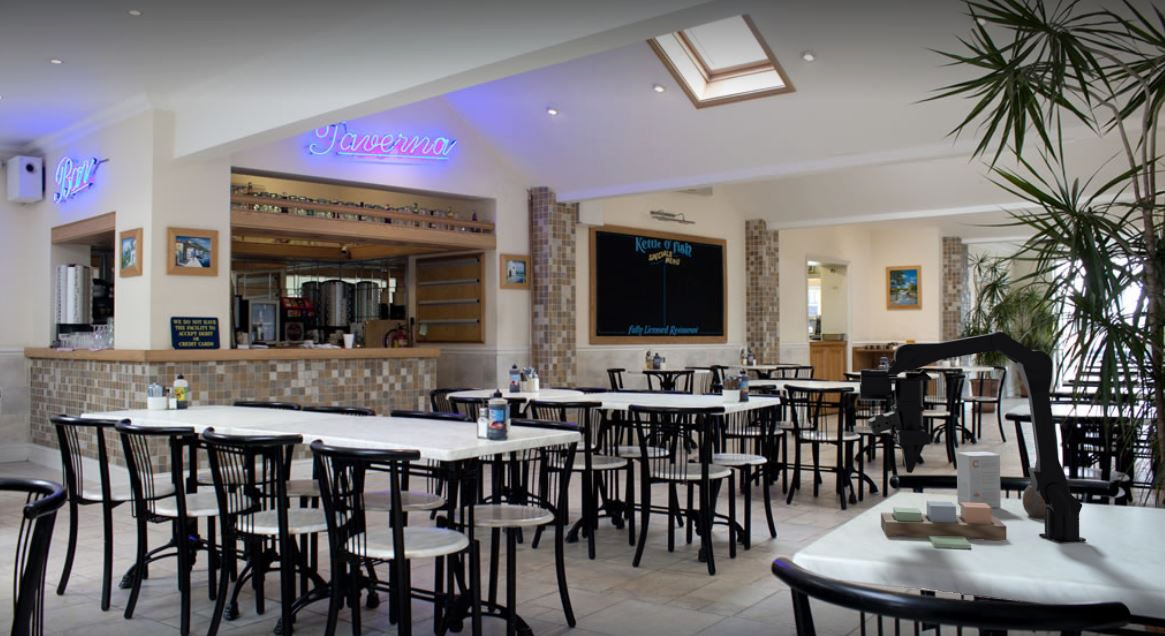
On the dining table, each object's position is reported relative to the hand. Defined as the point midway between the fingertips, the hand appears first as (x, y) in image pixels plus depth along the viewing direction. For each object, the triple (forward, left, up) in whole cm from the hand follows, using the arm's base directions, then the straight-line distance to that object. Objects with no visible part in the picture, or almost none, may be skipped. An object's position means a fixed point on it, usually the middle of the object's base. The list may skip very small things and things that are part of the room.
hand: (909, 472), depth 202 cm
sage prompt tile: (-12, -2, -13) cm, 18 cm away
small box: (+21, -32, -13) cm, 40 cm away
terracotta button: (-6, -12, -11) cm, 17 cm away
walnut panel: (-3, -6, -13) cm, 14 cm away
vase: (+7, -38, -13) cm, 41 cm away
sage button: (0, +1, -12) cm, 12 cm away
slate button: (-3, -6, -11) cm, 12 cm away
